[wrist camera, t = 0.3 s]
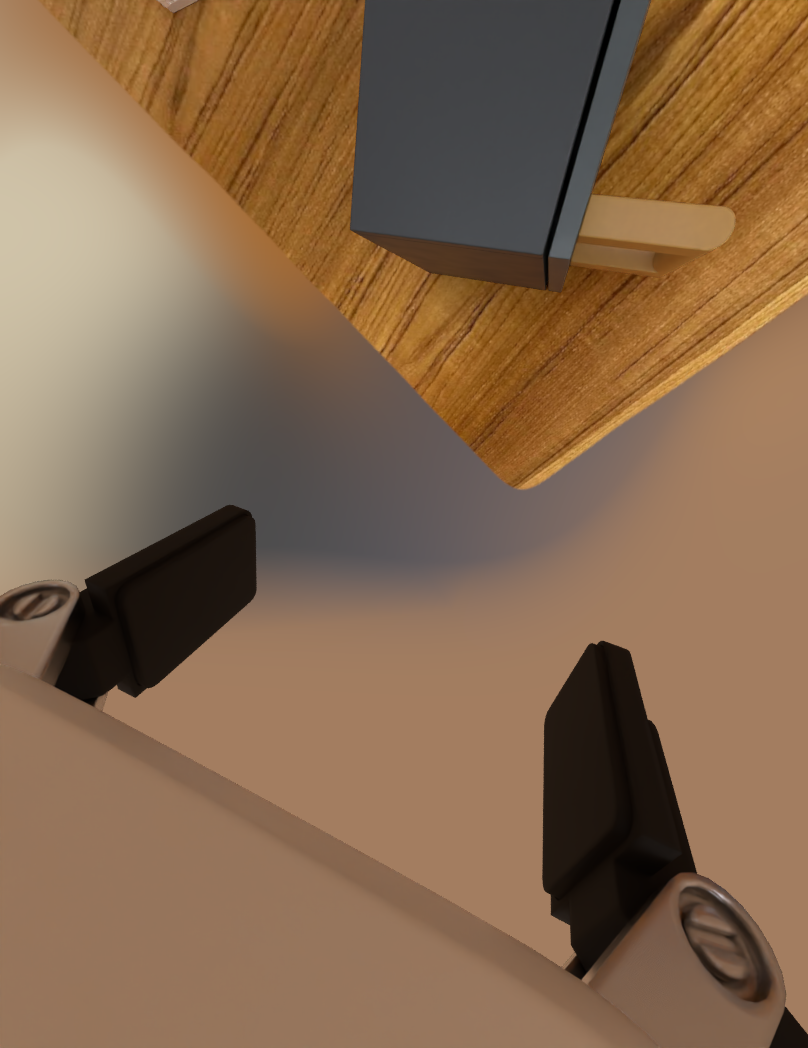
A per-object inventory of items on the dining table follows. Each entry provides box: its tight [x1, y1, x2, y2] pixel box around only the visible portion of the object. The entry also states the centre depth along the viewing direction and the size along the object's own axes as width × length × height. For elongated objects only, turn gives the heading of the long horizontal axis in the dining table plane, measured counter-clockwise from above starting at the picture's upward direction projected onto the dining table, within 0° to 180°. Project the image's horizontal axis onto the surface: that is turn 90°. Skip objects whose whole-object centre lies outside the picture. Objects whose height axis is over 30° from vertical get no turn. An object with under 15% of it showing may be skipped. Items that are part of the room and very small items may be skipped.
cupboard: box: [350, 0, 621, 290], centre depth 21 cm, size 10×16×16 cm, turn 171°
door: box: [548, 0, 736, 292], centre depth 19 cm, size 7×16×15 cm, turn 171°
